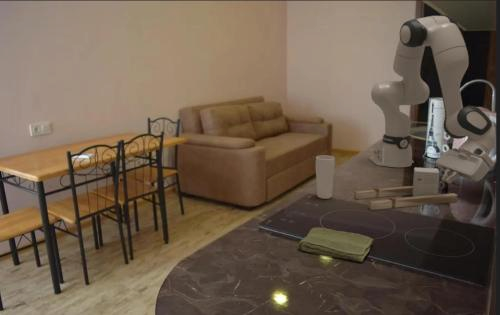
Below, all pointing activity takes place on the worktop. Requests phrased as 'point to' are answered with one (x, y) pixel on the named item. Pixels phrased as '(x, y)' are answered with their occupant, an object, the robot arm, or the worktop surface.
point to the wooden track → (401, 201)
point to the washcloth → (336, 244)
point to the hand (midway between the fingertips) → (445, 181)
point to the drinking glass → (325, 175)
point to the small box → (425, 181)
